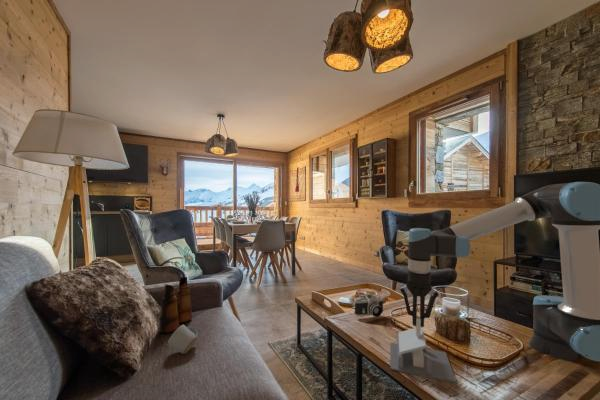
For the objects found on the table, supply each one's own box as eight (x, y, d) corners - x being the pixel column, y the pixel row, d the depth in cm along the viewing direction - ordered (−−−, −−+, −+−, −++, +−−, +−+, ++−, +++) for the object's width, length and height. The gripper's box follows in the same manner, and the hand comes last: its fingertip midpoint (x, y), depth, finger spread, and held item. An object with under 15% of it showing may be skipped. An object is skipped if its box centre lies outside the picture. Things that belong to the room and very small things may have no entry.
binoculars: (181, 313, 132) (181, 274, 132) (195, 315, 130) (195, 275, 130) (154, 331, 114) (154, 286, 114) (170, 333, 112) (171, 288, 112)
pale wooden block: (420, 353, 98) (420, 344, 98) (423, 367, 89) (423, 358, 89) (411, 351, 99) (411, 342, 99) (413, 365, 90) (413, 356, 90)
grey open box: (445, 353, 98) (445, 338, 98) (456, 383, 82) (456, 364, 82) (390, 343, 105) (390, 329, 105) (390, 369, 89) (390, 352, 89)
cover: (421, 328, 100) (421, 326, 100) (426, 347, 87) (425, 345, 87) (399, 334, 103) (398, 332, 103) (400, 354, 89) (399, 352, 89)
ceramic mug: (182, 359, 97) (186, 349, 93) (165, 346, 98) (169, 335, 94) (201, 336, 106) (206, 326, 102) (186, 324, 107) (189, 314, 103)
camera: (360, 320, 126) (360, 299, 126) (352, 312, 134) (352, 293, 134) (388, 316, 130) (388, 297, 130) (379, 309, 138) (379, 291, 138)
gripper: (437, 269, 95) (435, 333, 95) (399, 266, 100) (398, 326, 100) (440, 275, 88) (439, 343, 88) (400, 271, 92) (399, 336, 93)
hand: (417, 334), depth 94 cm, fingers closed
